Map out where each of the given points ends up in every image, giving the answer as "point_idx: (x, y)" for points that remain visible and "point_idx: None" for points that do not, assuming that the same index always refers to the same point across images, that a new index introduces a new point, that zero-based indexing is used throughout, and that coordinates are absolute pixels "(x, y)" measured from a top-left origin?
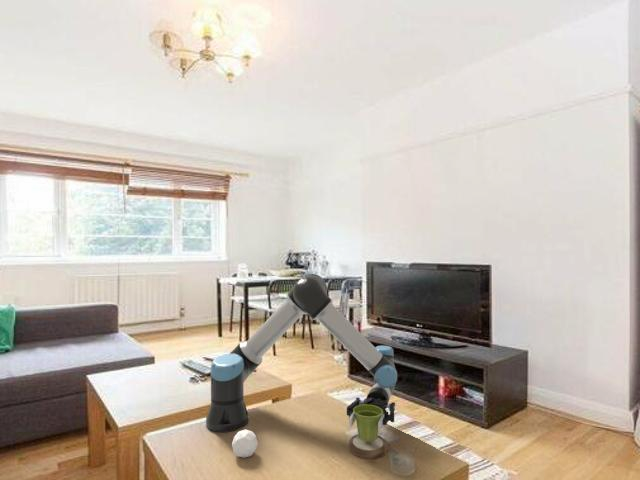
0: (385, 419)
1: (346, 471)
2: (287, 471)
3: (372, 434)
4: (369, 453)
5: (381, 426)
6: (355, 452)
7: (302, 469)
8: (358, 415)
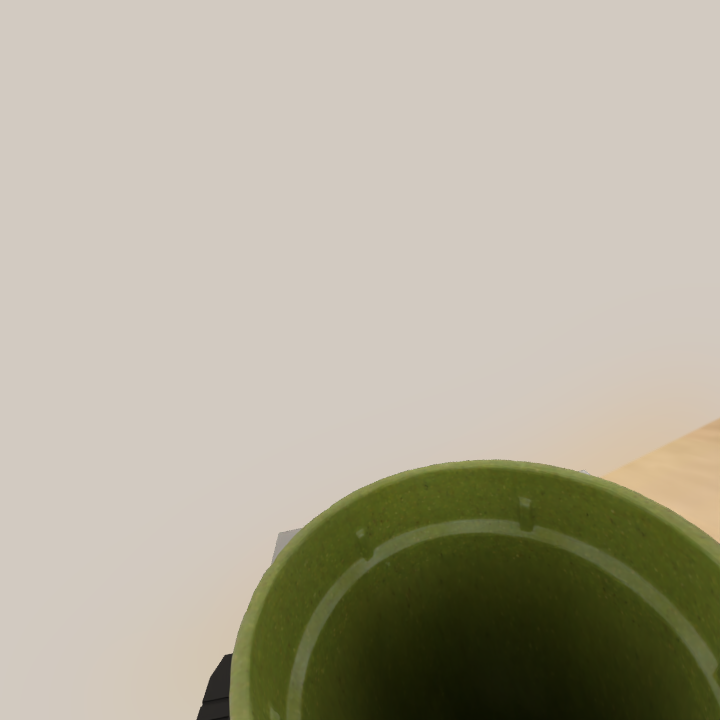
0: (222, 692)
1: None
2: (664, 462)
3: (405, 698)
4: None
5: None
6: None
7: (637, 489)
8: (497, 466)
